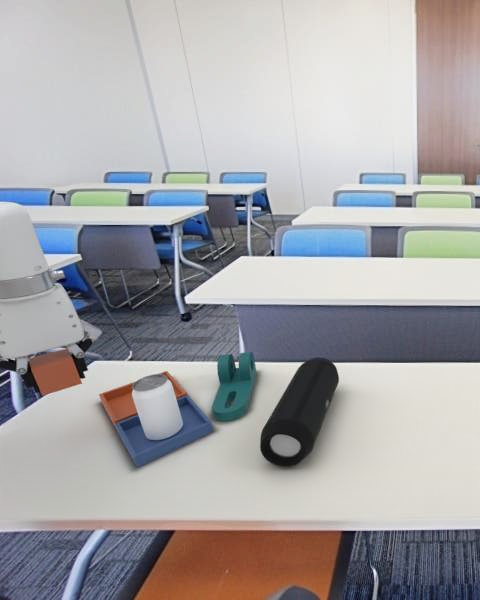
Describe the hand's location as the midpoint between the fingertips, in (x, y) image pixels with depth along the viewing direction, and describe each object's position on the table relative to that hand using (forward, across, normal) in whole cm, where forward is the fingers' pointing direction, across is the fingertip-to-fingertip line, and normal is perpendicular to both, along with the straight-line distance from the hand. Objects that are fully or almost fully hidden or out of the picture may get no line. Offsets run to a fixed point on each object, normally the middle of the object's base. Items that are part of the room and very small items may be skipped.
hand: (59, 381), depth 69 cm
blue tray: (+17, -12, +2) cm, 21 cm away
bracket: (+17, -26, 0) cm, 32 cm away
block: (0, 0, 0) cm, 0 cm away
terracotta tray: (+17, -11, -12) cm, 24 cm away
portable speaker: (+17, -33, +20) cm, 42 cm away
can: (+17, -12, +2) cm, 21 cm away
